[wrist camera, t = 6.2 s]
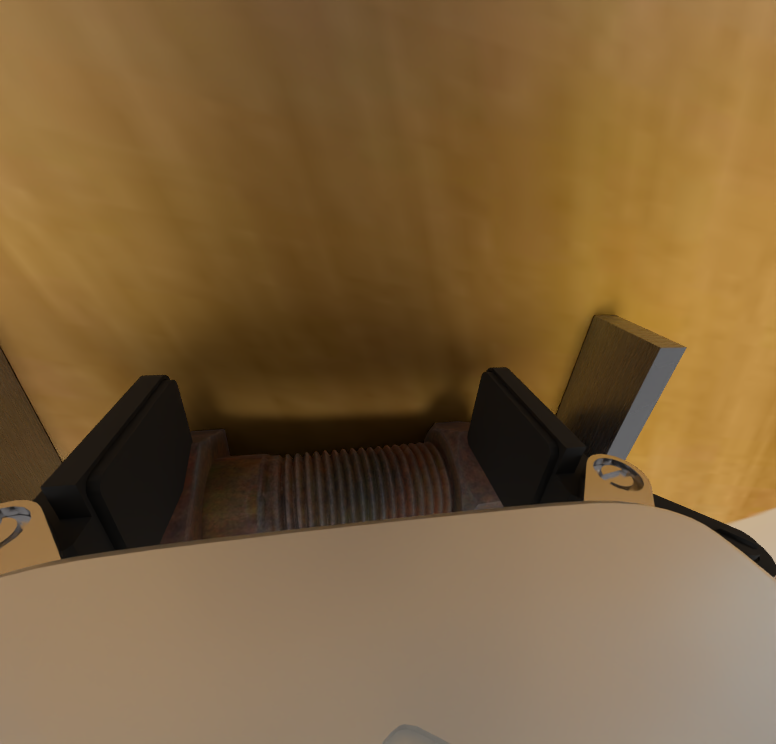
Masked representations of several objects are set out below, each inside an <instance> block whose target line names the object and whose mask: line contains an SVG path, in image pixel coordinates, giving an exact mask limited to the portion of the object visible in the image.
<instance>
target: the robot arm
mask: <svg viewBox="0 0 776 744" xmlns="http://www.w3.org/2000/svg"><path fill="white" fill-rule="evenodd" d="M467 440H468V444H469V446H470V448H471V450H472V452H473V453H474V455H475V457H476V459H477V461H478V462H479V464H480V466H481V468H482V469H483V471H484V473H485V475H486V477H487V478H488V480H489V482H490V484H491V485H492V487H493V489H494V491H495V492H496V494H497V496H498V498H499V500H500V501H501V503H502V505H503V507H501V508H491V509H481V510H471V511H461V512H451V513H441V514H432V515H422V516H412V517H403V518H394V519H384V520H375V521H365V522H356V523H347V524H337V525H328V526H319V527H310V528H301V529H292V530H283V531H274V532H265V533H256V534H247V535H238V536H230V537H221V538H212V539H203V540H194V541H186V542H178V543H170V544H161V545H159V544H160V542H161V540H162V537H163V535H164V533H165V530H166V528H167V526H168V524H169V521H170V519H171V517H172V515H173V512H174V510H175V508H176V505H177V503H178V501H179V499H180V496H181V494H182V492H183V488H184V482H185V477H186V472H187V466H188V461H189V455H190V450H191V445H192V443H193V440H192V437H191V433H190V429H189V426H188V422H187V418H186V414H185V411H184V407H183V403H182V399H181V396H180V392H179V388H178V385H177V382H176V381H175V380H170V378H169V377H168V376H167V375H145V376H141V377H140V378H139V379H138V380H137V381H136V382H135V383H134V385H133V386H132V387H131V388H130V389H129V390H128V391H127V392H126V393H125V394H124V396H123V397H122V398H121V399H120V400H119V401H118V402H117V403H116V404H115V405H114V406H113V408H112V409H111V410H110V411H109V412H108V413H107V414H106V415H105V416H104V417H103V419H102V420H101V421H100V422H99V423H98V424H97V425H96V426H95V427H94V428H93V430H92V431H91V432H90V433H89V434H88V435H87V436H86V437H85V438H84V439H83V441H82V442H81V443H80V444H79V445H78V446H77V447H76V448H75V449H74V450H73V452H72V453H71V454H70V455H69V456H68V457H67V458H66V459H65V460H64V461H63V463H62V464H61V465H60V466H59V467H58V468H57V469H56V470H55V471H54V472H53V474H52V475H51V476H50V477H49V478H48V479H47V480H46V481H45V482H44V483H43V485H42V486H41V487H40V488H41V490H42V491H41V492H40V493H39V494H38V495H37V496H36V498H35V499H34V500H33V501H29V500H14V501H10V502H5V503H0V744H776V564H775V562H774V561H773V559H772V557H771V556H770V555H769V554H768V553H767V552H766V551H765V550H764V548H763V547H761V546H760V545H759V544H758V543H757V542H756V541H755V540H754V539H753V538H751V537H750V536H749V535H747V534H746V533H744V532H742V531H740V530H738V529H736V528H733V527H731V526H729V525H726V524H724V523H722V522H719V521H717V520H715V519H712V518H710V517H707V516H705V515H703V514H700V513H698V512H695V511H693V510H691V509H688V508H686V507H684V506H681V505H679V504H676V503H674V502H672V501H669V500H667V499H664V498H662V497H660V496H657V495H655V494H653V493H652V487H651V484H650V481H649V479H648V478H647V477H646V476H645V474H644V473H643V472H642V471H640V470H639V469H638V468H637V467H635V466H634V465H632V464H630V463H629V462H627V461H625V460H623V459H620V458H618V457H615V456H611V455H606V454H596V455H592V456H590V457H589V458H588V457H587V456H586V455H585V454H584V451H585V449H586V446H585V445H584V444H583V443H582V442H581V441H580V440H579V439H578V438H577V437H576V436H575V435H574V434H573V433H572V432H571V431H570V430H569V429H568V428H567V427H566V426H565V425H564V424H563V423H562V422H561V421H560V420H559V419H558V418H557V417H556V416H555V415H554V414H553V413H552V412H551V411H550V410H549V409H548V408H547V407H546V406H545V405H544V404H543V403H542V402H541V401H540V400H539V399H538V398H537V397H536V396H535V395H534V394H533V393H532V392H531V391H530V390H529V389H528V388H527V387H526V386H525V385H524V384H523V383H522V382H521V381H520V380H519V379H518V378H517V377H516V376H515V375H514V374H513V373H512V372H511V371H510V370H509V369H508V368H506V367H501V368H489V369H488V370H487V371H486V372H484V373H483V374H482V376H481V380H480V384H479V389H478V393H477V397H476V401H475V405H474V410H473V414H472V418H471V422H470V427H469V431H468V436H467Z"/></svg>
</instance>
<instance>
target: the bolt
mask: <svg viewBox="0 0 776 744" xmlns="http://www.w3.org/2000/svg"><path fill="white" fill-rule="evenodd" d="M469 427H470V422H462V421H454V422H441V423H434V425H433V426H432V427H431V429H430V430H429V431H428V433H427V435H426V437H425V441H424V444H423V443H421V442H419V443H417V444H416V445H415V444H413V443H410V444H408V446H407V445H406V444H401V445H400V447H399V446H397V445H393V446H392V447H391V448H390V447H389V446H387V445H385V446H384V448H383V449H381V448H380V446H378V447H376V448H375V450H373V449H372V448H371V447H368V448H367V450H366V452H365V450H364V449H363V448H359V449H358V451H357V452H356V451H355V450H354V449H353V448H351V449H350V451H349V453H347V452H346V450H345V449H342V450H341V452H340V454H338V453H337V451H336V450H333V451H332V453H331V455H329V454H328V453H327V451H324V452H323V454H322V456H320V455H319V453H318V452H314V455H313V457H311V456H310V454H309V453H308V452H305V455H304V457H303V458H302V457H301V456H300V454H299V453H296V455H295V457H294V459H292V457H291V456H290V455H289V454H286V456H285V458H282V457H281V456H280V455H272V456H270V455H268V454H253V455H241V456H230V452H229V447H228V442H227V437H226V432H225V429H214V430H201V431H190V433H191V437H192V440H193V443H192V445H191V450H190V455H189V461H188V466H187V472H186V477H185V482H184V488H183V492H182V494H181V496H180V499H179V501H178V503H177V505H176V508H175V510H174V512H173V515H172V517H171V519H170V521H169V524H168V526H167V528H166V530H165V533H164V535H163V537H162V540H161V542H160V544H159V545H161V544H170V543H178V542H186V541H194V540H203V539H212V538H221V537H230V536H238V535H247V534H256V533H265V532H274V531H283V530H292V529H301V528H310V527H319V526H328V525H337V524H347V523H356V522H365V521H375V520H384V519H394V518H403V517H412V516H422V515H432V514H441V513H451V512H461V511H471V510H481V509H491V508H501V507H503V505H502V503H501V501H500V500H499V498H498V496H497V494H496V492H495V491H494V489H493V487H492V485H491V484H490V482H489V480H488V478H487V477H486V475H485V473H484V471H483V469H482V468H481V466H480V464H479V462H478V461H477V459H476V457H475V455H474V453H473V452H472V450H471V448H470V446H469V444H468V440H467V436H468V431H469Z"/></svg>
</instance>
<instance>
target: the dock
mask: <svg viewBox="0 0 776 744" xmlns="http://www.w3.org/2000/svg"><path fill="white" fill-rule="evenodd" d="M686 348H687V347H684V346H682V345H680V344H678V343H676V342H673V341H671V340H669V339H667V338H665V337H662V336H660V335H658V334H656V333H654V332H651V331H649V330H647V329H645V328H643V327H641V326H638V325H636V324H634V323H632V322H630V321H627V320H625V319H623V318H621V317H619V316H614V315H595V316H594V318H593V321H592V323H591V326H590V329H589V331H588V334H587V337H586V339H585V342H584V344H583V347H582V350H581V352H580V355H579V357H578V360H577V363H576V365H575V368H574V371H573V373H572V376H571V378H570V381H569V384H568V386H567V389H566V392H565V394H564V397H563V399H562V402H561V405H560V407H559V410H558V412H557V415H556V417H557V418H558V419H559V420H560V421H561V422H562V423H563V424H564V425H565V426H566V427H567V428H568V429H569V430H570V431H571V432H572V433H573V434H574V435H575V436H576V437H577V438H578V439H579V440H580V441H581V442H582V443H583V444H584V445H585V446H586V449H585V451H584V454H585V455H586V456H587V457H588V458H589V457H590V456H592V455H596V454H606V455H611V456H615V457H618V458H620V459H623V460H625V459H626V457H627V456H628V454H629V452H630V450H631V448H632V446H633V445H634V443H635V441H636V439H637V437H638V435H639V434H640V432H641V430H642V428H643V426H644V424H645V423H646V421H647V419H648V417H649V415H650V414H651V412H652V410H653V408H654V406H655V404H656V403H657V401H658V399H659V397H660V395H661V393H662V392H663V390H664V388H665V386H666V384H667V382H668V381H669V379H670V377H671V375H672V373H673V371H674V370H675V368H676V366H677V364H678V362H679V360H680V359H681V357H682V355H683V353H684V351H685V349H686ZM61 464H62V462H61V460H60V459H59V457H58V455H57V453H56V451H55V449H54V447H53V446H52V444H51V442H50V440H49V438H48V436H47V434H46V433H45V431H44V429H43V427H42V425H41V423H40V421H39V420H38V418H37V416H36V414H35V412H34V410H33V408H32V406H31V405H30V403H29V401H28V399H27V397H26V395H25V393H24V392H23V390H22V388H21V386H20V384H19V382H18V380H17V379H16V377H15V375H14V373H13V371H12V369H11V367H10V366H9V364H8V362H7V360H6V358H5V356H4V354H3V353H2V351H1V349H0V503H5V502H10V501H14V500H29V501H33V500H34V499H35V498H36V496H37V495H38V494H39V493H40V492H41V491H42V490H41V488H40V487H41V486H42V485H43V483H44V482H45V481H46V480H47V479H48V478H49V477H50V476H51V475H52V474H53V472H54V471H55V470H56V469H57V468H58V467H59V466H60V465H61Z"/></svg>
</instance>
